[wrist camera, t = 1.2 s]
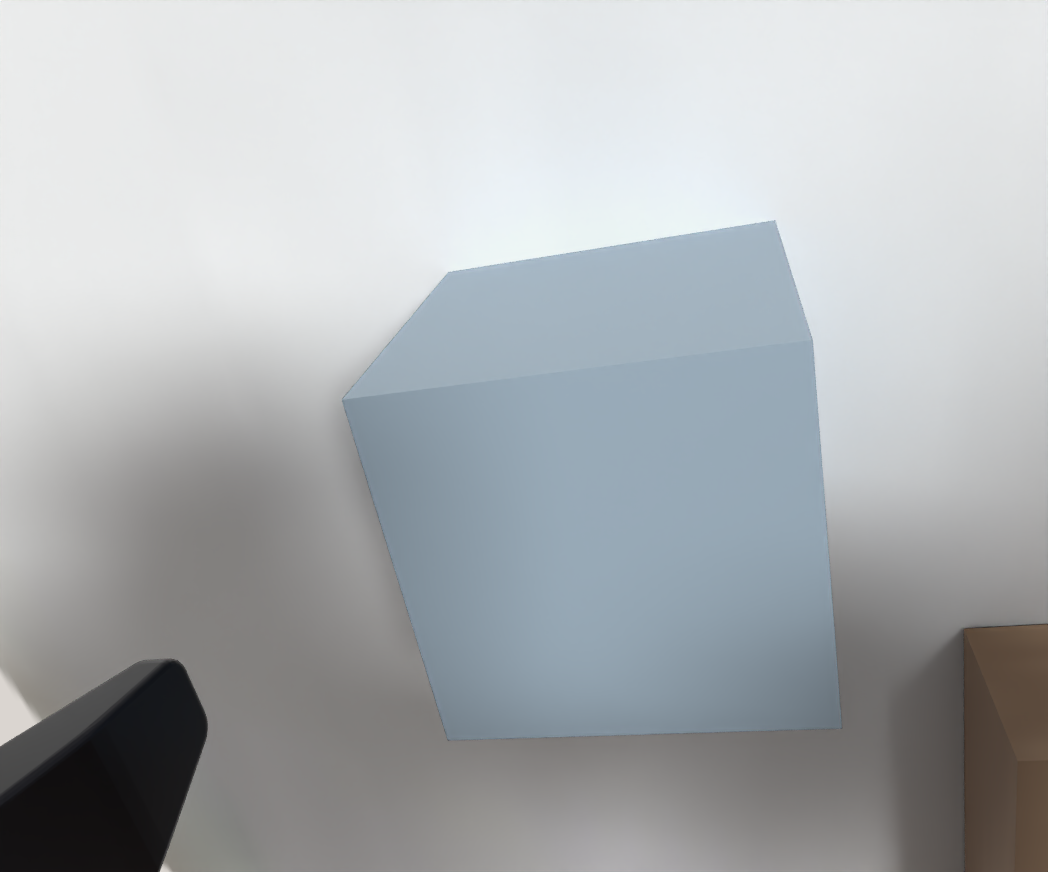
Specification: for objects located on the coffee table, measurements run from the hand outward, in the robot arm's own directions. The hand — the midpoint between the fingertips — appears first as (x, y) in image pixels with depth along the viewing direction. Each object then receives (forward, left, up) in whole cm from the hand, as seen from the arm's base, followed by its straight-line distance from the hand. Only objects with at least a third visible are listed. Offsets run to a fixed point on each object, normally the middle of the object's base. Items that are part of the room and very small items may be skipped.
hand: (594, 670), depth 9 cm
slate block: (0, 0, -7) cm, 7 cm away
